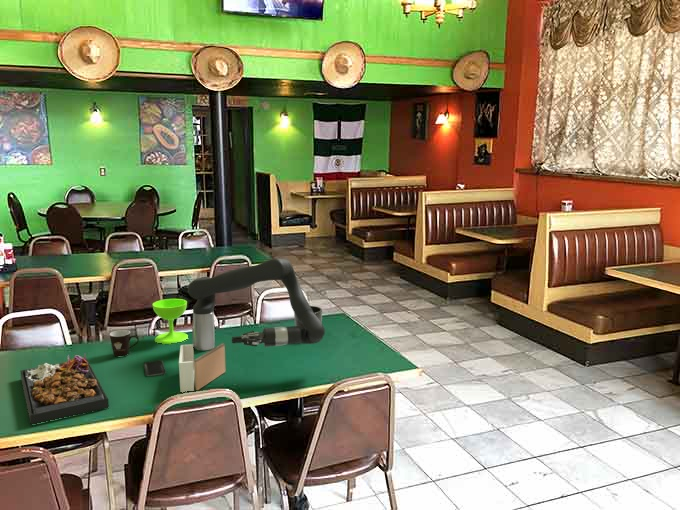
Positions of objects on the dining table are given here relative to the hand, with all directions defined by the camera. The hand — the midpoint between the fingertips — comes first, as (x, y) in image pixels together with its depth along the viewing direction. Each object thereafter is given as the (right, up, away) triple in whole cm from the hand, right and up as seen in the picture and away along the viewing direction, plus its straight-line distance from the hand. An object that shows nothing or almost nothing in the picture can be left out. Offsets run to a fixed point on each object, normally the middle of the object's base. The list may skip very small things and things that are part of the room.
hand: (231, 340), depth 221 cm
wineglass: (-39, -7, +51) cm, 64 cm away
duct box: (-18, -17, +2) cm, 25 cm away
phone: (-35, -15, +14) cm, 41 cm away
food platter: (-62, -19, -9) cm, 66 cm away
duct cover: (-9, -16, +2) cm, 19 cm away
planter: (+27, -6, +58) cm, 65 cm away
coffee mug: (-54, -11, +30) cm, 63 cm away
